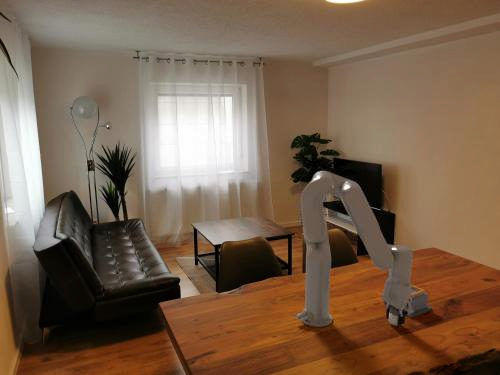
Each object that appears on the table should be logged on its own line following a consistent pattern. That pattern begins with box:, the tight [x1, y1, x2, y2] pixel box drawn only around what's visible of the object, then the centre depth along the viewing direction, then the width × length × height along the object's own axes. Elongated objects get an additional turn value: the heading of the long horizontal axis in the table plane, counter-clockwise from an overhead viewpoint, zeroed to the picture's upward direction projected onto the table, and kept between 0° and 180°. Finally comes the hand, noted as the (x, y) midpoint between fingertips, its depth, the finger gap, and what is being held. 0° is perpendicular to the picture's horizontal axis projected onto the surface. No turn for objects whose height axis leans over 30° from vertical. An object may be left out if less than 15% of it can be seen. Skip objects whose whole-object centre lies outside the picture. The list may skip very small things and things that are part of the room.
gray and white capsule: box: [388, 305, 400, 326], centre depth 153 cm, size 5×5×6 cm
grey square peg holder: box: [405, 284, 433, 319], centre depth 167 cm, size 14×13×8 cm
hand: (395, 320), depth 154 cm, fingers closed on gray and white capsule, 4 cm apart
